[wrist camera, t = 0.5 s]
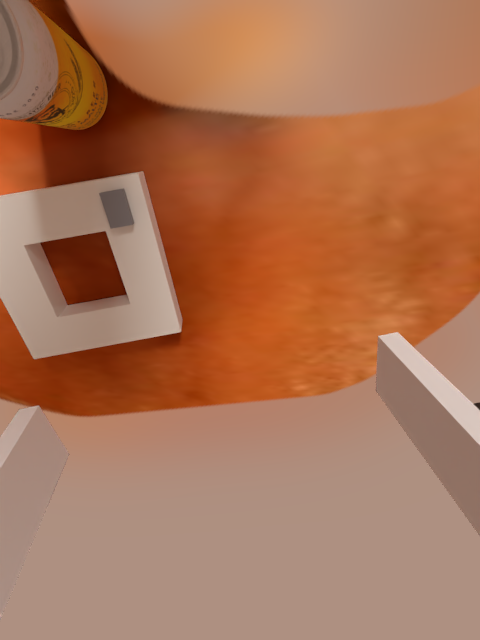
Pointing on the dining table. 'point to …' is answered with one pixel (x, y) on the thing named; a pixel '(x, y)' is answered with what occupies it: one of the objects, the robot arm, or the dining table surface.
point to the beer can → (46, 72)
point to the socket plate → (129, 251)
